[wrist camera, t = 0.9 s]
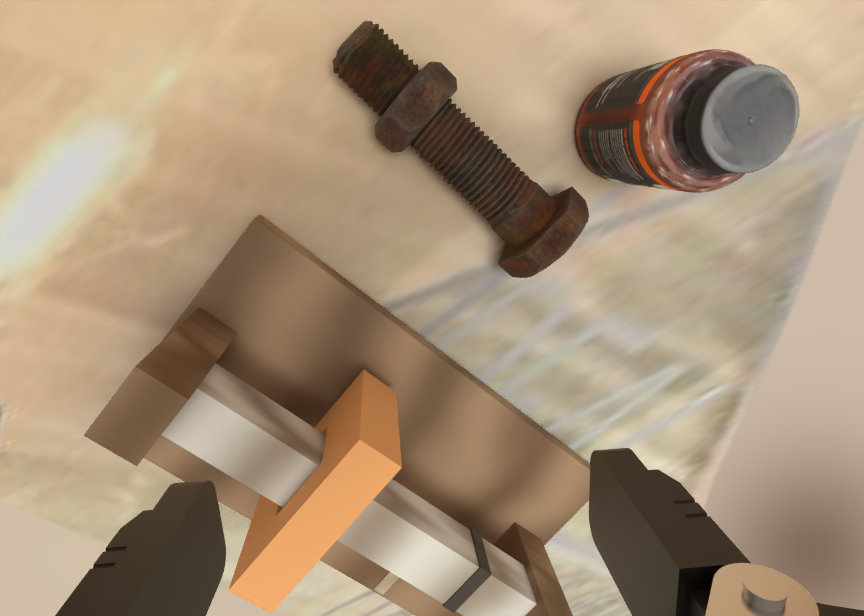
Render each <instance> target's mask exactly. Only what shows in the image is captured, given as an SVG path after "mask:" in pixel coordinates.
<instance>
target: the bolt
mask: <svg viewBox="0 0 864 616" xmlns="http://www.w3.org/2000/svg"><path fill="white" fill-rule="evenodd" d="M378 28H379V24H374V25H373V23H372V21H365V22H363V23H362V24H361V25H360V26H359V27H358V28H357V29H356V30H355V31H354V32H353V33H352V34H351V35H350V36H349V37H348V38H347V40H346V41H345V42H344V43H343V44H342V45H341V46H340V48H339V49H338V50H337V56H336V57H335V58H334V60H333V71H334V73H339V78H344V79H343V82H349V87H354V92H359V97H364V102H367V101H369V105H368V106H374V111H379V116H381V118H380V119H379V120H378V122H377V123H376V125H375V131H376V138H377V139H378V140H379V141H380V142H382V143H383V144H384V145H385V146H386V147H387V148H388V149H389V150H390V151H391V152H402V151H403V150H404V149H405V148H406V147H407V146H408V145H409V143H412V148H417V152H422V153H421V157H426V162H427V161H431V164H430V166H434V165H435V171H436V170H440V175H443V174H445V175H444V179H449V184H451V183H453V188H456V187H458V188H457V192H461V191H462V197H463V196H466V200H467V201H469V200H471V202H470V204H471V205H475V209H476V210H478V209H479V213H480V214H482V213H483V217H484V218H488V219H487V221H488V222H489V223H490V224H491V225H492V228H493V229H494V230H495V231H496V232H497V233H498V234H499V235H500V236H501V237H502V238H503V239H504V240H505V241H506V243H505V246H504V249H503V252H502V254H501V257H500V260H499V263H498V264H499V265H500V266H501V267H502V268H503V269H504V270H505V271H506V272H507V273H508V274H509V275H511V276H512V277H519V278H527V277H531V276H534V275H535V274H537V273H539V272H540V271H542V270H544V269H545V268H547V267H548V266H550V265H551V264H552V263H553V262H555V261H556V260H557V259H559V258H560V257H561V256H562V255H563V254H564V253H566V252H567V250H568V249H569V248H570V247H571V246H572V244H573V243H574V242H575V240H576V239H577V238H578V236H579V235H580V234H581V232H582V230H583V228H584V227H585V225H586V223H587V222H588V218H589V213H588V207H587V204H586V201H585V200H584V198H583V197H582V196H581V195H580V194H579V193H578V192H577V191H576V190H575V189H574V188H573V187H570V188H568V189H567V190H565V191H563V192H561V193H559V194H557V195H555V196H553V197H550V196H549V195H548V194H547V193H546V192H545V191H544V190H543V189H542V188H541V187H540V186H539V185H538V184H537V183H535V182H533V181H532V180H530V179H529V177H528V176H524V175H525V173H524V172H523V171H520V168H519V167H515V166H516V164H515V163H514V162H512V163H511V161H512V160H511V158H507V154H505V153H502V149H497V147H498V145H497V144H493V140H489V141H488V139H489V136H484V131H481V132H479V130H480V127H475V122H471V123H470V117H469V118H465V114H466V113H461V114H460V112H461V108H460V109H456V104H451V101H452V99H449V98H450V97H451V96H452V95H453V94H454V93H455V91H456V90H457V81H456V78H455V77H454V76H453V75H452V73H451V72H450V71H449V70H448V69H447V68H446V67H445V66H444V65H443V64H442V63H440V62H429V63H428V64H427V65H426V66H425V67H424V68H423V69H422V70H418V64H417V65H413V59H412V60H408V54H407V55H404V54H403V49H402V50H399V46H398V44H396V45H394V43H393V39H391V40H388V34H386V35H383V33H384V30H383V29H379V30H378ZM506 158H507V159H506Z"/></svg>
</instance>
